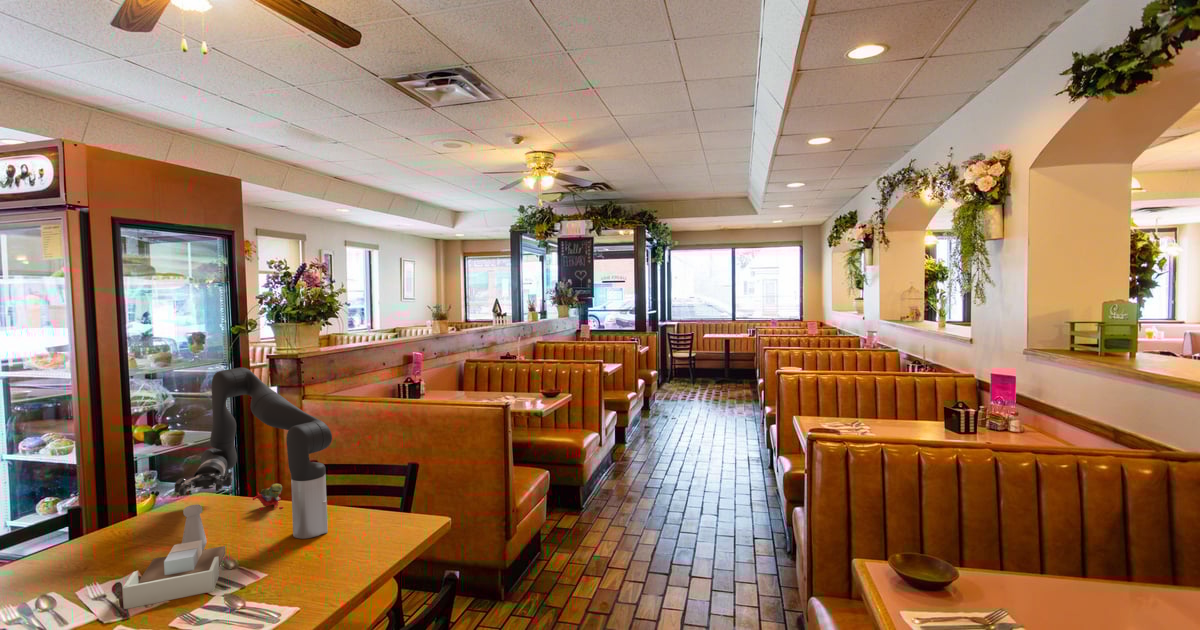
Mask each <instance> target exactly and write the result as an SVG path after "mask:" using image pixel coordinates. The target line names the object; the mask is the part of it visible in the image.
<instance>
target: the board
mask: <svg viewBox="0 0 1200 630" xmlns="http://www.w3.org/2000/svg"><path fill="white" fill-rule="evenodd" d="M225 555H226V545H223V546H217V547H211V548H206V549H205V548H204V550H202V554H201V556H200V558H199V560H198V562H197V564H196V566H195V568H194V570H191V571H186V572H180V573H175V574H170V575H165V573H164V561H165V559H166V558H167V556H168V555H167V556H161V557H155V558H152V560H151V561H150V564H149V565H148V566H147V568H146V570H145V571H144V572H143V574H142V575H141V577H140V579H138V583H145V582H150V581H155V580H160V579H166V578H171V577H176V576H182V575H187V574H192V573H197V572H203V571H208V570H209V569H210V567H211V565H212V562H213V560H214V558H215V557H219V569H220V568H221V566H222V563H223V561H222V559H223V560H224V558H225ZM223 557H224V558H223ZM221 562H222V563H221ZM220 565H221V566H220Z"/></svg>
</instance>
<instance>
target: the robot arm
mask: <svg viewBox="0 0 1200 630" xmlns="http://www.w3.org/2000/svg"><path fill="white" fill-rule="evenodd" d="M243 395H247V396H250V398H251V400H250V411H251V413H252V415H253V416H254V417H256V419H257V420H259V421H260V422H262V423H263V424H265V425H267V426H269V427H272V428H275V429H280V430H285V431H287V434H286V450H287V461H288V469H289V473H290V480H291V482H290V483H291V510H292V511H291V512H292V514H291V515H292V516H291V517H292V535H293V537H294V538H295V539H299V540H300V539H303V540H304V539H311V538H315V537H318V536H322V535H323V534H328V532H329V531H328V530H329V529H328V500H327V480H326V479H327V476H326V475H327V473H326V471H327V470H326V466H325V464H324V463H322V462H319V461H318V462H316V461H311V460H310V455H311V454H315V453H317V452H321V451H323V450H325V449H327V448H328V447H330V445H331V444H332V441H333V433H332V431H331V429H330V427H329V426H328V425H327V423H325V422H324V421H323V420H320V419H319V418H317V417H315V416H313V415H311V414H309V413H307V412H305V411H303V410H302V409H300V408H299V407H297V405H294V404H293V403H291V402H290V401H288V400H287V399H286V398H285V397H284V396H282V395H281V394H279V393H278V392H276V391H275V390H273V389H272V388H271V387H269V386H268V385H266V383H264V382H263V381H262V380H261V379H260V378H259V377H258V376H257V375H256V374H255V373H254V372H253V371H252V370H250V369H249V368H247V367H235V368H230V369H223V370H220V371H216V373H214V374H213V376H212V381H211V408H212V409H211V410H212V424H211V426H212V427H211V431H210V440H209V444H210V446H211V448H207V449H205V450H204V451H203V452H202V455H201V457H200V466H199V467H198V468H197V469H196V471H195V473H194V475H193V476H192V477H191V478H188V479H185V477H180V478H179V479H178V480H177V481H176V482H175V483H174V493H178V495H180V496H185V495H186V493H187V492H188V491H195V490H198V489H202V490H210V489H211V490H212V489H215V492H219V491H220V490H222V489H223V487H225V486H227V487H230V486H232V483H233V472H231V471H230V472H227V473H226V471H229V470H232V469H233V468H234V467H235V466H236V465H237V461H238V455H237V449H236V447H235V446H236V445H235V440H236V439H235V437H236V433H237V422H236V419H235V417H234V416H233V414H232V413H231V412H230V411H229V409H228V407H227V401H228V399H229V398H234V397H238V396H243Z"/></svg>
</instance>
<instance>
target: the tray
mask: <svg viewBox="0 0 1200 630" xmlns="http://www.w3.org/2000/svg"><path fill="white" fill-rule="evenodd" d="M219 577H220V568H219V557H215V558H214V560H213V562H212V565H211V567H210V569H209V570H208V571H203V572H197V573H192V574H187V575H182V576H176V577H171V578H166V579H160V580H155V581H150V582H145V583H138V582H139V571H138V570H136V571H133V572H132V574H131V575H130V576H129V578H128V579H127V581H126V582H125V584H124V585H123V586H122V602H123V610H127V609H132V608H137V607H142V606H147V605H151V604H156V603H161V602H167V601H171V600H176V599H182V598H186V597H192V596H196V595H202V594H206V593H210V592H213V591H215V588H216V585H217V582H218V579H219Z"/></svg>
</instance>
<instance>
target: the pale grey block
mask: <svg viewBox="0 0 1200 630" xmlns="http://www.w3.org/2000/svg"><path fill="white" fill-rule="evenodd" d="M197 562H198V553H197V549H191V550H186V551H180V552H174V553H170V552H169V553H168V555H167V558H166V559H165V561H164V573H165V575H170V574H175V573H180V572H186V571H191V570H194V568H195V566H196V564H197Z"/></svg>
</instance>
